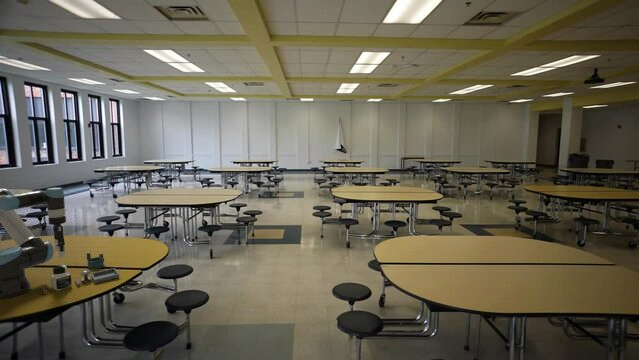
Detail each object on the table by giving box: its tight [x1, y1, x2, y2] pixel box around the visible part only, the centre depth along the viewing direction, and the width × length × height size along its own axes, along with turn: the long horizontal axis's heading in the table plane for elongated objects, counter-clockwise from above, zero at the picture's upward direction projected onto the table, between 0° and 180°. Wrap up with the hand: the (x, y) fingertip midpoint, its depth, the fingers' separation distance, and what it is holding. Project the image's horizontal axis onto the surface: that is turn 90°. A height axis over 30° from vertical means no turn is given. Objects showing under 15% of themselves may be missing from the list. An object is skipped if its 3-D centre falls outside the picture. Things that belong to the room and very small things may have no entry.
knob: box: [80, 269, 92, 283], centre depth 196 cm, size 5×5×6 cm
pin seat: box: [42, 277, 82, 296], centre depth 187 cm, size 16×10×2 cm, turn 131°
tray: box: [90, 267, 120, 285], centre depth 200 cm, size 12×12×2 cm
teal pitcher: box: [86, 252, 105, 270], centre depth 217 cm, size 9×9×9 cm
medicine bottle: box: [50, 264, 73, 292], centre depth 187 cm, size 7×7×12 cm
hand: (60, 253), depth 187 cm, fingers open, 13 cm apart
